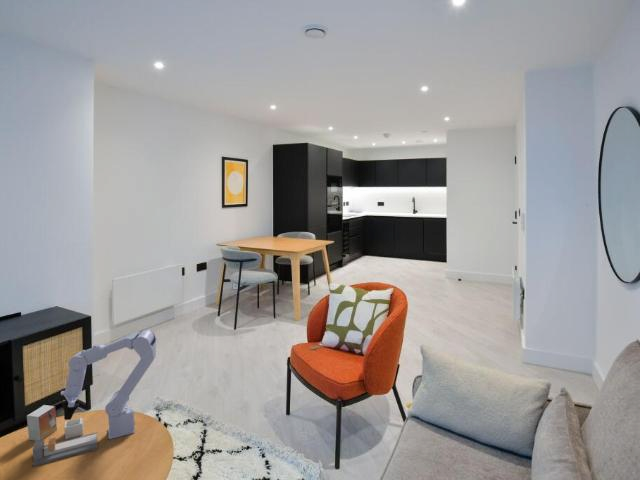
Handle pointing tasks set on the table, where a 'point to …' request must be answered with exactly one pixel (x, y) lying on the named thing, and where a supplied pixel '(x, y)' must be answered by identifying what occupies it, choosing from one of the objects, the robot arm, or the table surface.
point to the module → (73, 428)
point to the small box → (41, 422)
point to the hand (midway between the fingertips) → (68, 413)
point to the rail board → (63, 449)
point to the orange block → (52, 444)
